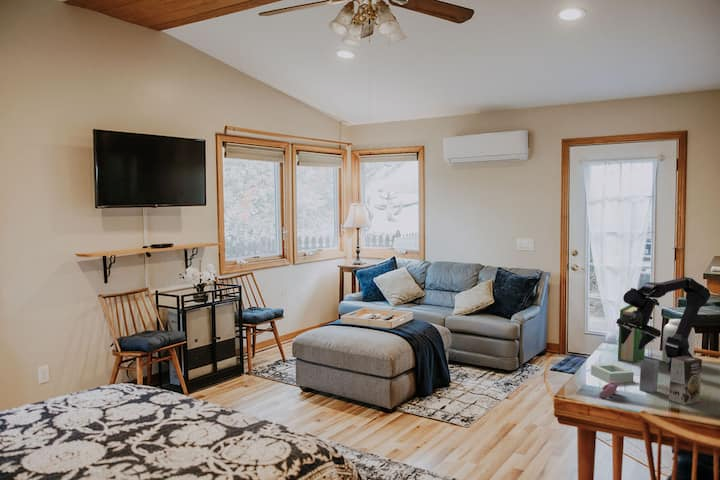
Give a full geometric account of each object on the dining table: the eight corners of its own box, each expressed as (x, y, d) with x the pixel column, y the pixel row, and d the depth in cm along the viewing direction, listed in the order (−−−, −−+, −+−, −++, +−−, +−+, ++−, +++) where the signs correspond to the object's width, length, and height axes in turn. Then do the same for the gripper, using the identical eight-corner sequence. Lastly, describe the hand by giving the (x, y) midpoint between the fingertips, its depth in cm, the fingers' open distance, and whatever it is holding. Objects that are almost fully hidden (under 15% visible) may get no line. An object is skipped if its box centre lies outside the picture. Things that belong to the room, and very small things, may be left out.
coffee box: (685, 405, 199) (687, 362, 198) (668, 400, 205) (670, 357, 204) (700, 401, 204) (703, 359, 202) (683, 396, 209) (685, 354, 208)
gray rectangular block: (644, 387, 219) (645, 357, 218) (657, 390, 215) (659, 360, 214) (639, 389, 216) (641, 359, 215) (653, 393, 212) (654, 362, 211)
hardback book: (635, 363, 251) (637, 311, 250) (617, 360, 256) (620, 309, 255) (644, 355, 265) (647, 306, 263) (627, 353, 270) (630, 304, 268)
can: (660, 363, 253) (662, 320, 251) (663, 357, 263) (665, 315, 262) (692, 368, 246) (694, 324, 244) (694, 361, 256) (696, 319, 255)
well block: (613, 372, 237) (613, 363, 237) (633, 381, 226) (633, 372, 225) (590, 374, 235) (591, 365, 234) (609, 383, 223) (610, 373, 223)
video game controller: (609, 403, 204) (619, 388, 202) (597, 396, 206) (607, 381, 204) (612, 396, 213) (622, 381, 211) (601, 388, 215) (611, 374, 213)
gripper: (613, 300, 236) (600, 334, 235) (648, 309, 218) (633, 345, 218) (632, 309, 239) (619, 343, 239) (667, 318, 222) (654, 354, 221)
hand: (630, 346), depth 229 cm, fingers open, 9 cm apart
